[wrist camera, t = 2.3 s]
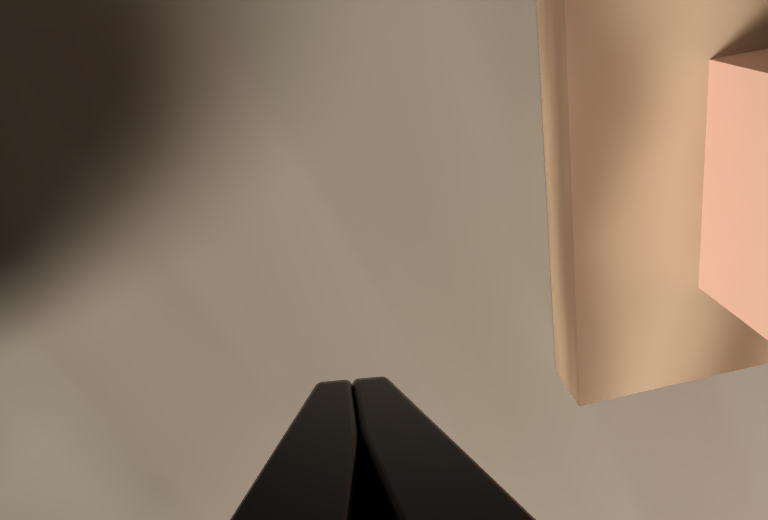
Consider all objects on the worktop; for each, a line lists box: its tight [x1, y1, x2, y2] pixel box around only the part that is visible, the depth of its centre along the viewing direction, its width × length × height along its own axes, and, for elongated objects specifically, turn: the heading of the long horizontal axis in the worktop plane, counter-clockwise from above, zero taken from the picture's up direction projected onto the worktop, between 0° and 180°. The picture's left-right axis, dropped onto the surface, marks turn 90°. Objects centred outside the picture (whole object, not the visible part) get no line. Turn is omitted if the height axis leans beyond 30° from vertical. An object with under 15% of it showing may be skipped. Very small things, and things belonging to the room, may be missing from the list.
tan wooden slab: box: [537, 0, 768, 406], centre depth 21 cm, size 12×14×2 cm
